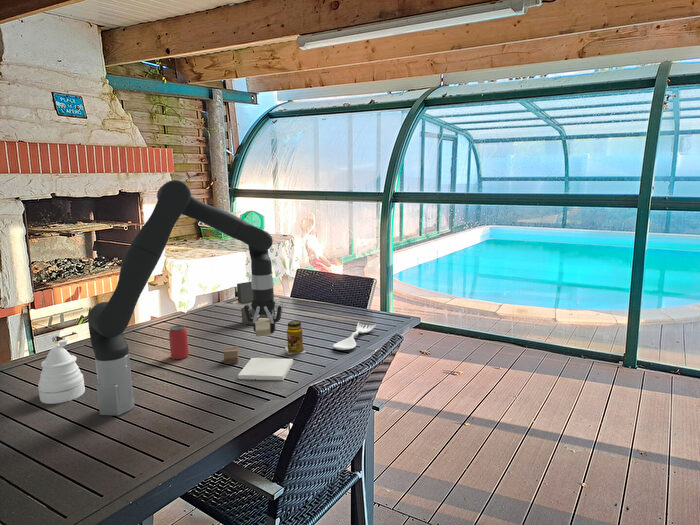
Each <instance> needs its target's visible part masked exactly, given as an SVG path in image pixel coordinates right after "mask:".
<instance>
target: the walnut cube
mask: <svg viewBox="0 0 700 525" xmlns="http://www.w3.org/2000/svg"><path fill="white" fill-rule="evenodd" d="M239 358H240V356H239V346H238V345H235V346H225V347H224V348H223V363H224V365H228V364H229V365H230V363H233V364H238V363H239Z"/></svg>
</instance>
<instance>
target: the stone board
mask: <svg viewBox="0 0 700 525" xmlns="http://www.w3.org/2000/svg"><path fill="white" fill-rule="evenodd" d="M293 364H294V359H293V358H272V357H251V358H250V359H249V361H248V362H247V363H246V364H245V366H244V367H243V368H242V370H240V372H239V373H238V374H237V379H238V380H255V379H256V380H259V381H284V379H285V378H286V376H287V375H288V373H289V371H290V369H291V367H292V365H293Z"/></svg>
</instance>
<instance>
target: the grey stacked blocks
mask: <svg viewBox="0 0 700 525" xmlns="http://www.w3.org/2000/svg"><path fill="white" fill-rule="evenodd" d="M236 289H237V290H236V291H237V301H233V302H232V306H233V307H234V308H237V309H241V325H242V326H245V325H251V324H253V322H251V321H248V319H247V316H246V313H245V309H244V306H245V305H246V304H252V284H251V281H247V282H246V281H245V282H241V283H236ZM274 302H275V303H279V302H280V297H279V296H278V297H277V296H274ZM251 308H252V309H251V313H252V316H253V318H254V315H255V312H256V311H255V310H254V309H253V307H251ZM272 311H273V313H274V317H275V318H276V312H275V311H276V308H275V307H274V308H273V310H272ZM259 318H268V316H267V315H264V314H262V315H260V316H259ZM259 318H258V319H259Z"/></svg>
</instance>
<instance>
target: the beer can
mask: <svg viewBox="0 0 700 525" xmlns="http://www.w3.org/2000/svg"><path fill="white" fill-rule="evenodd" d="M168 336H169V338H168V339H169V347H170V357H171V358H172V359H174V360H182V359H186V358H188V356H189V352H190V351H189V341H188V331H187V328H186V326H185V325H174V326H171V327H170V328H169V332H168Z"/></svg>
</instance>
